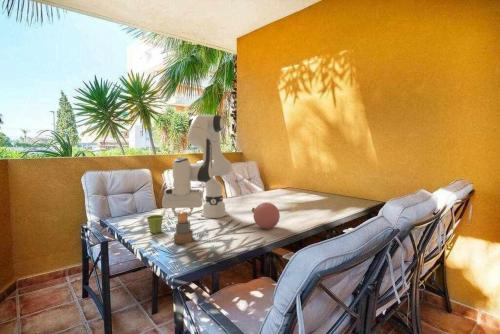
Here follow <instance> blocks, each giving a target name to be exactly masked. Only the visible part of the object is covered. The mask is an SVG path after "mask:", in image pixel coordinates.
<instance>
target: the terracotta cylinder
mask: <svg viewBox="0 0 500 334" xmlns="http://www.w3.org/2000/svg"><path fill="white" fill-rule="evenodd" d="M188 212H189V211H179V212H178V216H177V223H181V224H183V223H187V222H188V221H189V220H188V219H189V216H188Z"/></svg>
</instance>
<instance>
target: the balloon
mask: <svg viewBox="0 0 500 334" xmlns="http://www.w3.org/2000/svg"><path fill="white" fill-rule="evenodd" d="M251 213H253V220H254V222H255V224H256V225H257V226H258V227H259V228H260V229H263V230H270V229H273V228H274V227H276V225H278V223H279V221H280V216H281V215H280V210H279V208H278V207H277V206H276V205H275V204H273V203H271V202H262V203H260V204H258V205H257V206H256V208H255V207H252V209H251Z"/></svg>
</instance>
